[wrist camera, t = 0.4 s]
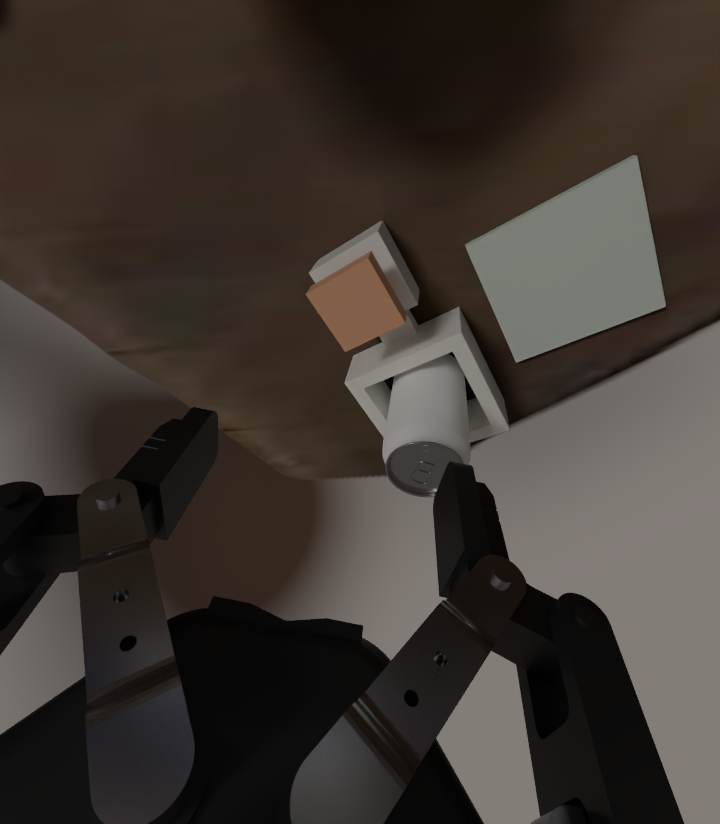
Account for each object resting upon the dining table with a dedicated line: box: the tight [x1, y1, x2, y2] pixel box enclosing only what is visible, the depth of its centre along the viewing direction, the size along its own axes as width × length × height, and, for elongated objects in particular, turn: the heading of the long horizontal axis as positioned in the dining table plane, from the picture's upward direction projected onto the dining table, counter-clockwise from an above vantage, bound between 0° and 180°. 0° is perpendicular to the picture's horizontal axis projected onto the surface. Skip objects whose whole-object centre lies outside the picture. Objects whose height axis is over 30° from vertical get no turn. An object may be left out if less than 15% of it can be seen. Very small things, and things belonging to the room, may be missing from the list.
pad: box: [465, 155, 666, 363], centre depth 30 cm, size 11×11×1 cm
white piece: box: [309, 220, 510, 442], centre depth 34 cm, size 10×19×4 cm, turn 31°
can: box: [383, 354, 470, 497], centre depth 33 cm, size 6×6×12 cm
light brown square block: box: [306, 251, 407, 352], centre depth 29 cm, size 5×5×4 cm
